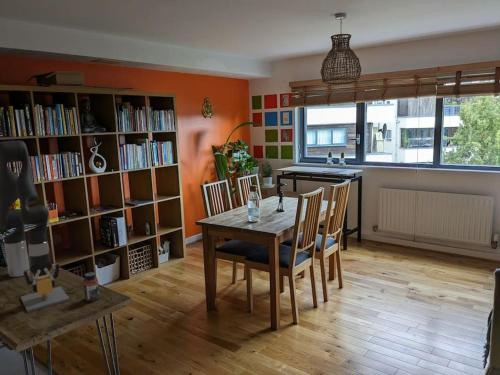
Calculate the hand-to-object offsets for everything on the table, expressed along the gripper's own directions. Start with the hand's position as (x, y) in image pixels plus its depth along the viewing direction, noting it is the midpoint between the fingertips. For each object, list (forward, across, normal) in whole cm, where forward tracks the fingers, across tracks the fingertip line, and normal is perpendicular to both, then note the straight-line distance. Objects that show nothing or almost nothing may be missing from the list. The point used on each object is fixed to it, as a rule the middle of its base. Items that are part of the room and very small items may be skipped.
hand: (44, 289), depth 168 cm
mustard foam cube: (+1, 0, 0) cm, 1 cm away
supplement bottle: (+5, -16, +13) cm, 21 cm away
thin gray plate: (+4, 0, 0) cm, 4 cm away
